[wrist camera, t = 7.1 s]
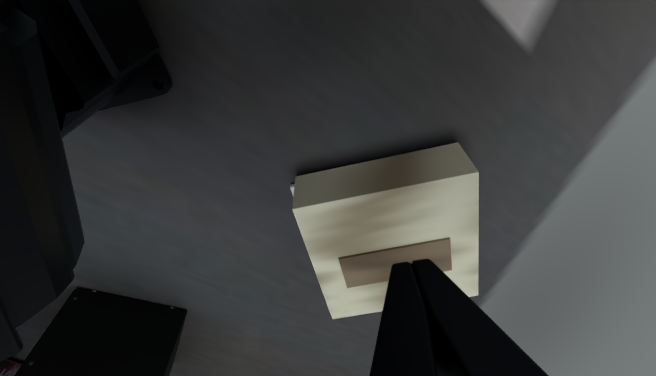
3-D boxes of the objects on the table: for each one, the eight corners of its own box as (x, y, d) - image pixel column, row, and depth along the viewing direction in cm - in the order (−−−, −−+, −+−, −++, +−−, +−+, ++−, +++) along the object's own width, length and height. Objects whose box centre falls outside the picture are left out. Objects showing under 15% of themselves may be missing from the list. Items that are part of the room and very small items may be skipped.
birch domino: (295, 176, 20) (331, 282, 25) (291, 211, 18) (332, 321, 23) (458, 142, 19) (461, 259, 24) (479, 173, 17) (479, 297, 22)
